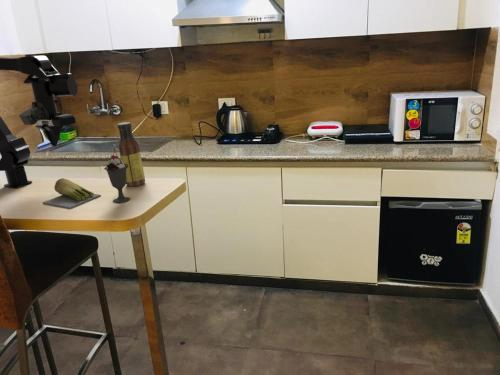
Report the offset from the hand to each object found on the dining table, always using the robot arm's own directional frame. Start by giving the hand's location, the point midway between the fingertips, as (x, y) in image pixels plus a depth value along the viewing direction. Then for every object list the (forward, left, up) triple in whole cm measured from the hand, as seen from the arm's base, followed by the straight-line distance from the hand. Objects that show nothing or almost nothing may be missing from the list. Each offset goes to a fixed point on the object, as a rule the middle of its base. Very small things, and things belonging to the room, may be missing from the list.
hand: (54, 146), depth 139 cm
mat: (+17, -10, -13) cm, 24 cm away
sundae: (+32, -5, -13) cm, 35 cm away
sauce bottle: (+25, +8, -13) cm, 29 cm away
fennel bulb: (+10, -8, -10) cm, 16 cm away
